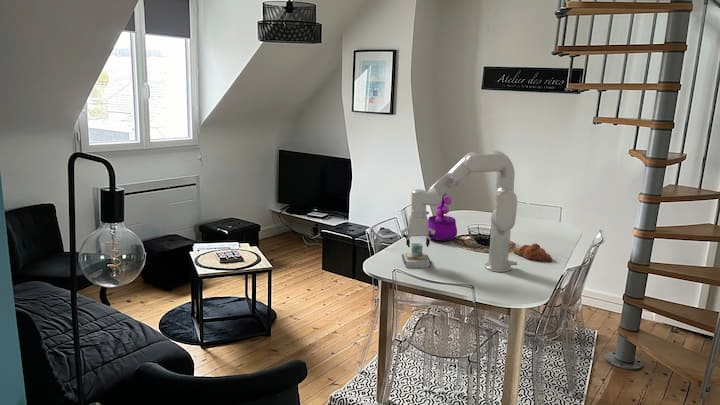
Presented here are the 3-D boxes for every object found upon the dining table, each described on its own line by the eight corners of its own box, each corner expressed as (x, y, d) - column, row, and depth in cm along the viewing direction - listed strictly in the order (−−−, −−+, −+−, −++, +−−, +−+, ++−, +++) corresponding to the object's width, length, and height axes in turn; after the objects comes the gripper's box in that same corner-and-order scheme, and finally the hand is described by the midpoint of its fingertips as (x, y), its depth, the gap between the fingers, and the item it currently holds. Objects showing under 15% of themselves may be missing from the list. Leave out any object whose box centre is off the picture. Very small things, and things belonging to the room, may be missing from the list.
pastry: (520, 262, 278) (521, 247, 276) (512, 252, 293) (514, 239, 291) (552, 262, 278) (554, 248, 276) (543, 253, 293) (544, 239, 291)
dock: (427, 259, 278) (427, 254, 277) (430, 267, 266) (431, 261, 266) (401, 259, 277) (401, 253, 277) (404, 267, 266) (404, 261, 265)
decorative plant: (455, 235, 323) (458, 187, 316) (457, 244, 305) (461, 193, 298) (424, 233, 324) (426, 186, 317) (425, 242, 306) (427, 192, 299)
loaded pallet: (425, 255, 274) (425, 243, 273) (426, 259, 268) (427, 246, 267) (406, 255, 274) (406, 243, 272) (407, 259, 268) (408, 246, 266)
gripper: (434, 212, 270) (433, 243, 274) (400, 212, 269) (400, 244, 273) (436, 215, 262) (435, 248, 266) (402, 216, 262) (401, 248, 266)
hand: (417, 246), depth 270 cm, fingers open, 9 cm apart
